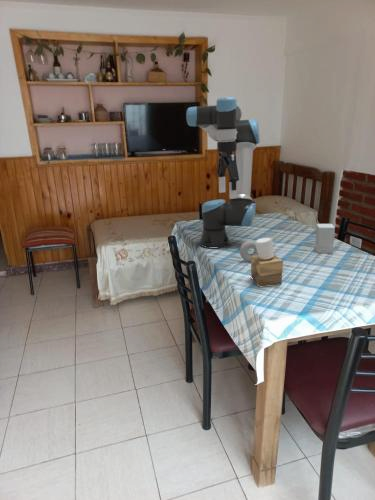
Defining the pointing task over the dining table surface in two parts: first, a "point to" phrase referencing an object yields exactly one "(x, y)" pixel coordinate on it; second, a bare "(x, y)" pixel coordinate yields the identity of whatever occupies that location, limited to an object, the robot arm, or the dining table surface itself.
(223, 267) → the dining table surface
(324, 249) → the supplement box
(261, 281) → the walnut block
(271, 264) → the oak block
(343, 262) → the dining table surface
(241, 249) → the donut
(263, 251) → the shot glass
